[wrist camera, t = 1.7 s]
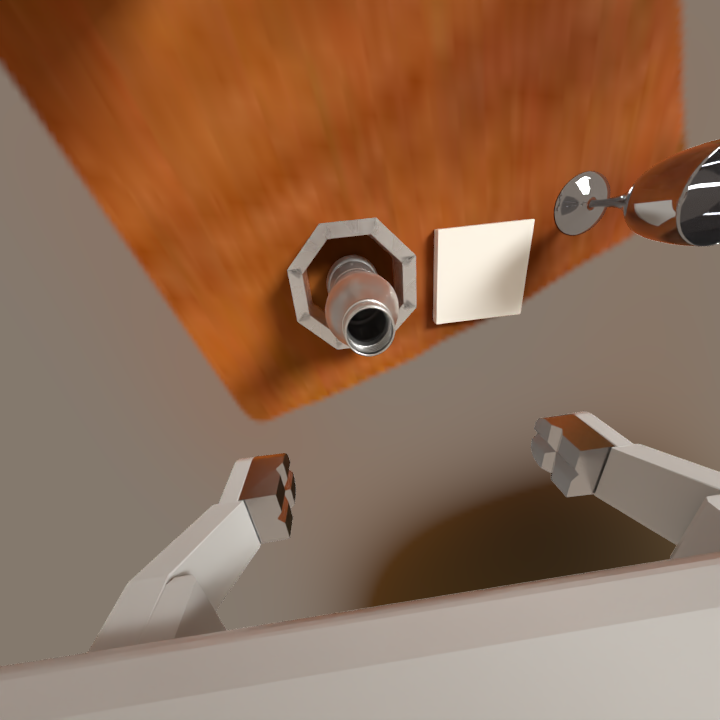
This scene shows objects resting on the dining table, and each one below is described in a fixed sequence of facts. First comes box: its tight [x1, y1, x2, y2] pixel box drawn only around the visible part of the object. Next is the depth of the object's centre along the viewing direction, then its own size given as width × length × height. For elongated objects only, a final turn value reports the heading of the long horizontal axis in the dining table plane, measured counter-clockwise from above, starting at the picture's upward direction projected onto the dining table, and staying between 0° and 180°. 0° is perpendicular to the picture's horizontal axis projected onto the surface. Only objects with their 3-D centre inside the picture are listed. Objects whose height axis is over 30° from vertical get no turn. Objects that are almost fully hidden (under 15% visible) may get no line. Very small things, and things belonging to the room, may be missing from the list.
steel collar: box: [287, 218, 416, 350], centre depth 35 cm, size 14×14×6 cm
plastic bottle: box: [325, 255, 399, 356], centre depth 29 cm, size 6×7×20 cm
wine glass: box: [554, 139, 720, 246], centre depth 30 cm, size 8×8×15 cm
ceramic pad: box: [433, 219, 535, 324], centre depth 38 cm, size 12×12×2 cm
